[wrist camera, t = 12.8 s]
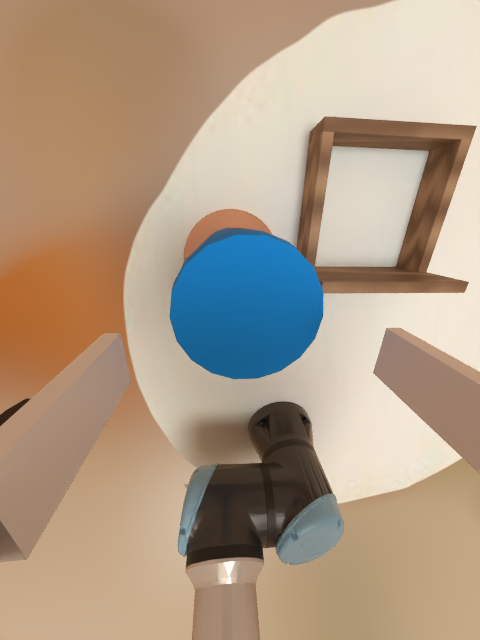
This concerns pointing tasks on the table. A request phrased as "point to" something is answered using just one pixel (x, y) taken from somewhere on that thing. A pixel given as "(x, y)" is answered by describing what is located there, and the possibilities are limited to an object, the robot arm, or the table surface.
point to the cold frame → (428, 209)
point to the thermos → (246, 304)
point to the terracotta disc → (221, 226)
